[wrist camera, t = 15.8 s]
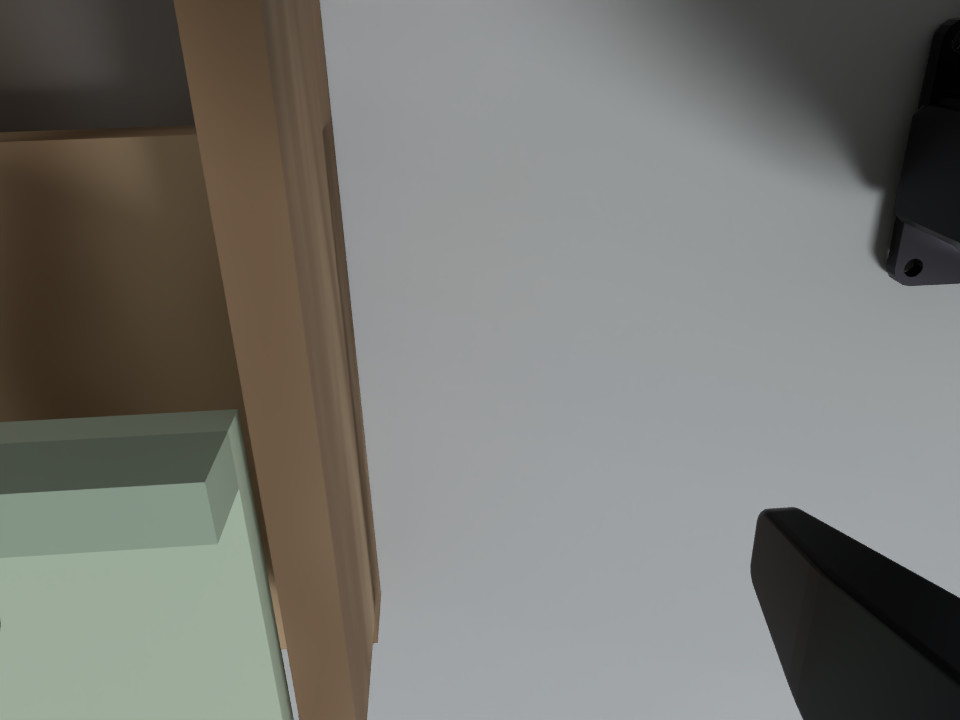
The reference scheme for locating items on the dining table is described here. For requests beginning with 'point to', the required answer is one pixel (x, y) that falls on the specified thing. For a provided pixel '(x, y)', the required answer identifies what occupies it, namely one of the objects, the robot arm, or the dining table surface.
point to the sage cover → (134, 573)
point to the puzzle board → (197, 275)
